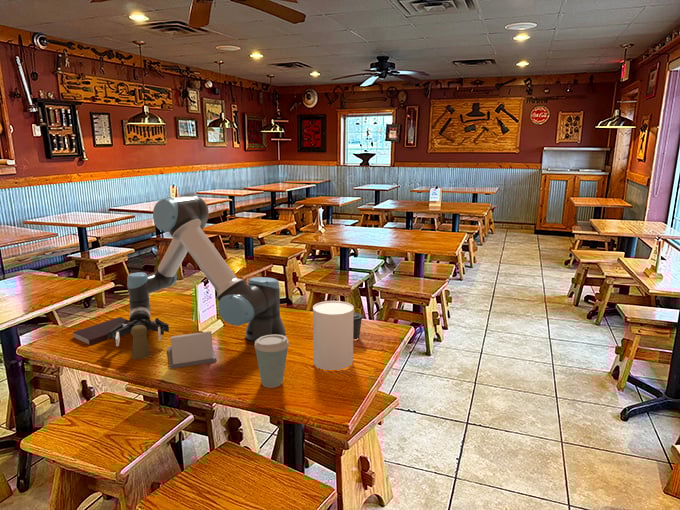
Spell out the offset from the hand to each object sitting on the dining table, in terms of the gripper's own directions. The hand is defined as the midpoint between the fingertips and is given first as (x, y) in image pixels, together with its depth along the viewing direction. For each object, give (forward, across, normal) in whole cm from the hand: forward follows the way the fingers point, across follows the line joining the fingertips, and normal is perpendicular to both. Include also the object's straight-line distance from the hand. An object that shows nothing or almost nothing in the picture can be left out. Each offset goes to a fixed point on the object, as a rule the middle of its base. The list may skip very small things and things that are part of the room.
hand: (138, 339), depth 160 cm
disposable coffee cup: (+35, -39, -7) cm, 52 cm away
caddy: (+5, -17, -6) cm, 19 cm away
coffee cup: (+12, -76, -7) cm, 77 cm away
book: (-28, +13, -7) cm, 32 cm away
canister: (+29, -61, -7) cm, 68 cm away
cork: (-1, 0, -7) cm, 7 cm away
